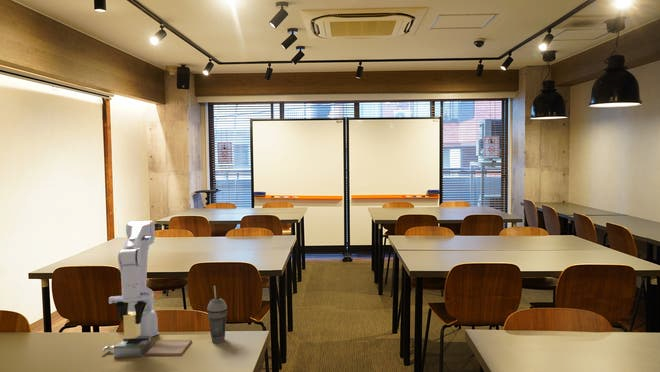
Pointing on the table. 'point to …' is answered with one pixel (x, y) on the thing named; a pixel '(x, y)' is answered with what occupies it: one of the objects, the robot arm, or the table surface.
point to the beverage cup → (217, 318)
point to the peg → (131, 326)
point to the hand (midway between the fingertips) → (132, 323)
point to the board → (168, 347)
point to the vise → (131, 347)
